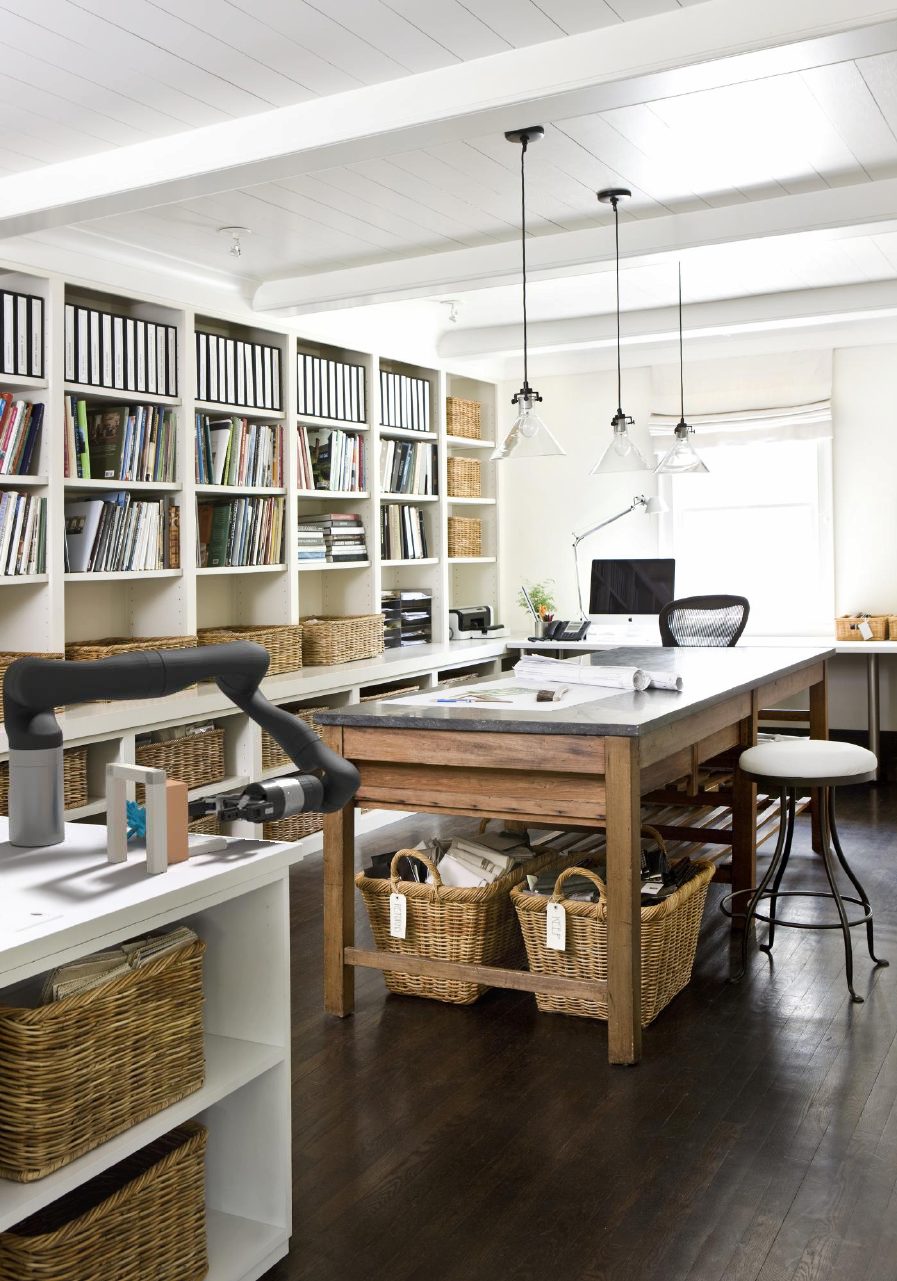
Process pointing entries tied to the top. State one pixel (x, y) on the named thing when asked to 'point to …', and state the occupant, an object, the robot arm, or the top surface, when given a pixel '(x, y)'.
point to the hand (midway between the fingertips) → (202, 813)
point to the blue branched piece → (135, 819)
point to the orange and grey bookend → (182, 826)
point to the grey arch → (154, 813)
